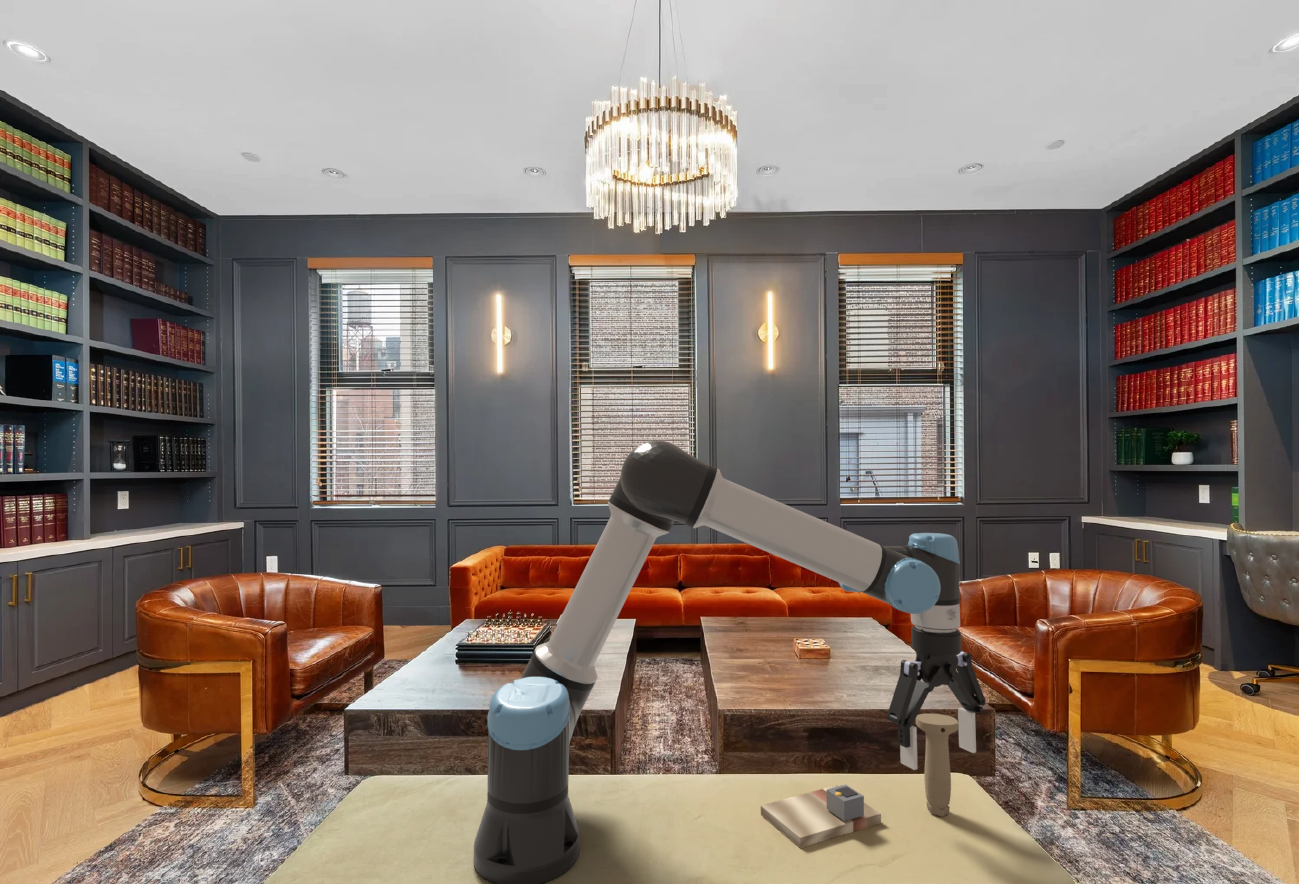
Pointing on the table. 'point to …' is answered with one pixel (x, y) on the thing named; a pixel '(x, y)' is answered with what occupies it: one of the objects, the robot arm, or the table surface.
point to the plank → (813, 818)
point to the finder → (845, 802)
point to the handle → (937, 760)
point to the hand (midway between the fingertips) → (939, 757)
